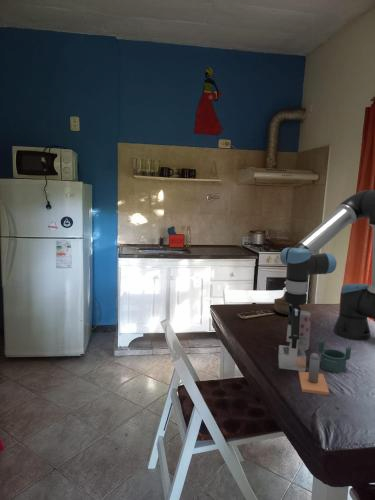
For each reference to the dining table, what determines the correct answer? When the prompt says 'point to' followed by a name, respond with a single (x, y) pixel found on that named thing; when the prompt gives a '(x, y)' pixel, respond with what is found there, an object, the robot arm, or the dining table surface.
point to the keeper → (313, 378)
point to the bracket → (333, 358)
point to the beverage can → (304, 330)
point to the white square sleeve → (292, 359)
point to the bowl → (281, 305)
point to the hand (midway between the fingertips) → (291, 348)
